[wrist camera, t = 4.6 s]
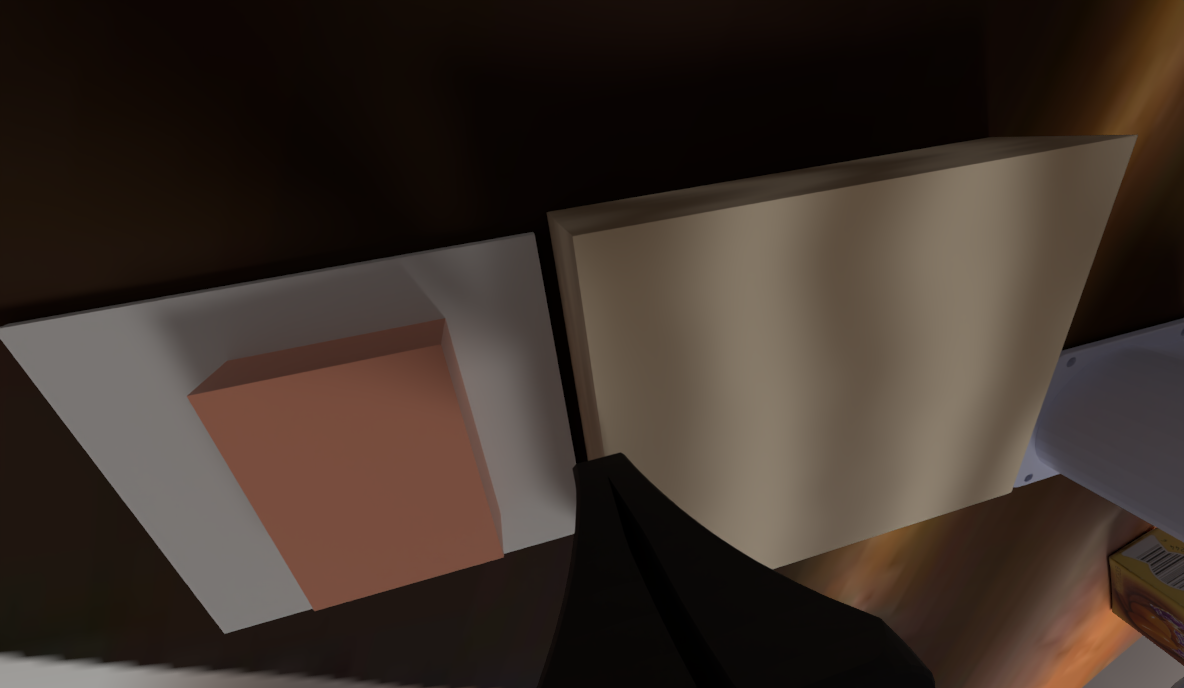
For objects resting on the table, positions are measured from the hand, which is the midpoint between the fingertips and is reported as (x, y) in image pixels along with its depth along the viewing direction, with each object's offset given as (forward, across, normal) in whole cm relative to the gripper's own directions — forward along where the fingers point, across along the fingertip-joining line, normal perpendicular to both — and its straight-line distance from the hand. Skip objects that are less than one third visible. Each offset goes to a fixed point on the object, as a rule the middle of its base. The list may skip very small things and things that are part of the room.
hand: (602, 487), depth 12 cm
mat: (+5, +7, 0) cm, 8 cm away
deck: (+5, -8, 0) cm, 10 cm away
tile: (+2, +6, 0) cm, 7 cm away
